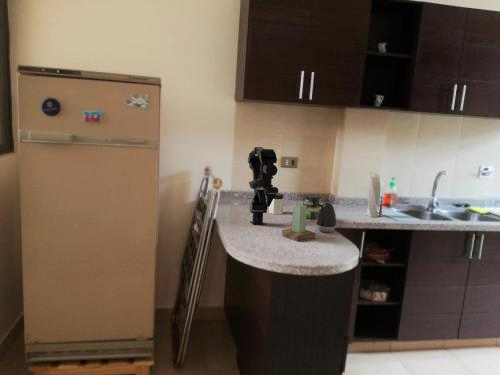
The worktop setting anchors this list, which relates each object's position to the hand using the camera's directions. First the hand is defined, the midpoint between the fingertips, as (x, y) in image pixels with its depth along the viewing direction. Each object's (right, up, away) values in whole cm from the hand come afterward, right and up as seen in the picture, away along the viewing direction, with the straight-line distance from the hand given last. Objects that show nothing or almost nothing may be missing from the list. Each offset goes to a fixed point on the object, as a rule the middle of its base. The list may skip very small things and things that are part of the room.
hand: (264, 204), depth 195 cm
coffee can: (+28, -10, +31) cm, 43 cm away
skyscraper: (+70, -10, +49) cm, 86 cm away
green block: (+16, -12, -11) cm, 23 cm away
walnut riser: (+16, -16, -10) cm, 24 cm away
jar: (+9, -7, +46) cm, 48 cm away
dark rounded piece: (+31, -14, +4) cm, 35 cm away
